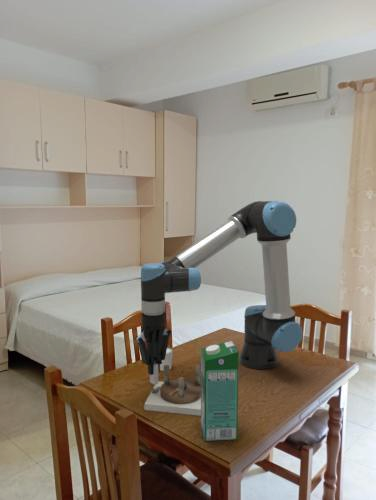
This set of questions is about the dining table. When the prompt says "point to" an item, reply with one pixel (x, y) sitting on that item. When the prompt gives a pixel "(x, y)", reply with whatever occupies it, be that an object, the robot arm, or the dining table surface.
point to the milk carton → (219, 391)
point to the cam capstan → (181, 388)
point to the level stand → (170, 404)
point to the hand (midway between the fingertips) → (154, 382)
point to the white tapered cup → (167, 359)
